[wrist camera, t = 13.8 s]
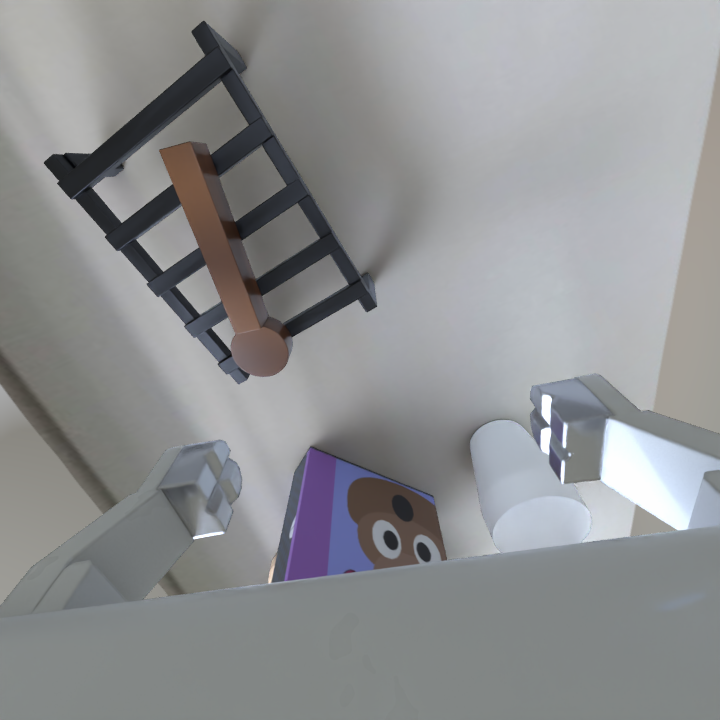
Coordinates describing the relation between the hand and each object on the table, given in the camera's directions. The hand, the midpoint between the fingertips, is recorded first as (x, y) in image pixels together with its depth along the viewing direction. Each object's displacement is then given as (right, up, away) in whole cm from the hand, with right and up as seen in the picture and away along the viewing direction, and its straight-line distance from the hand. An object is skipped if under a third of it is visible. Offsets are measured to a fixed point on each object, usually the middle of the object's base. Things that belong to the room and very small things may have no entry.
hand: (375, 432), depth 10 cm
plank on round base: (-9, +9, +18) cm, 22 cm away
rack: (-10, +14, +23) cm, 28 cm away
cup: (+16, -8, +34) cm, 38 cm away
